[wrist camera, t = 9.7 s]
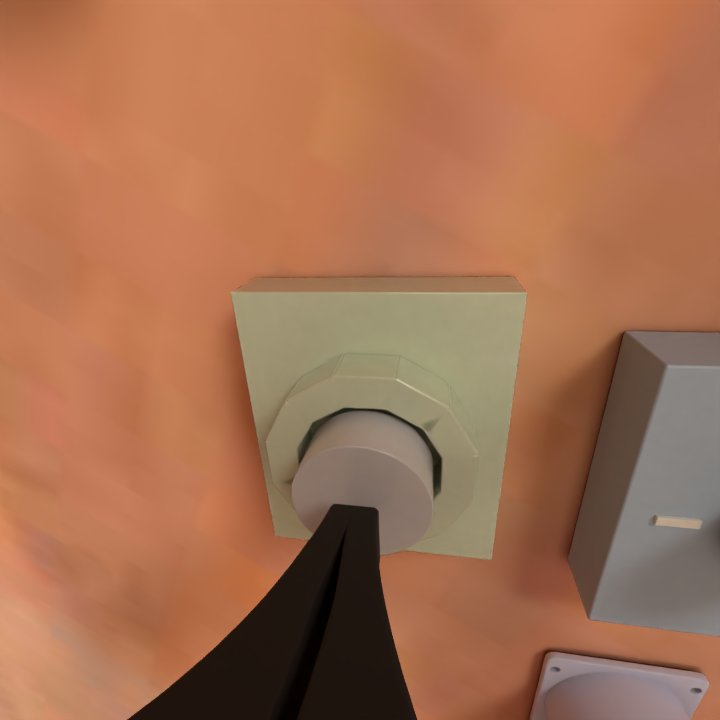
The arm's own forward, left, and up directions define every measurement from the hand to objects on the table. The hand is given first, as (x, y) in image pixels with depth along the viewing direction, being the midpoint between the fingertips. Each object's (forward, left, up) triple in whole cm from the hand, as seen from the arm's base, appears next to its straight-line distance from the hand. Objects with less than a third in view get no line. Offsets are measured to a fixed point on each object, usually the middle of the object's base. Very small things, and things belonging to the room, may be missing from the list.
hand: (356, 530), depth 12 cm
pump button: (0, 0, -3) cm, 3 cm away
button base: (0, 0, -7) cm, 7 cm away
